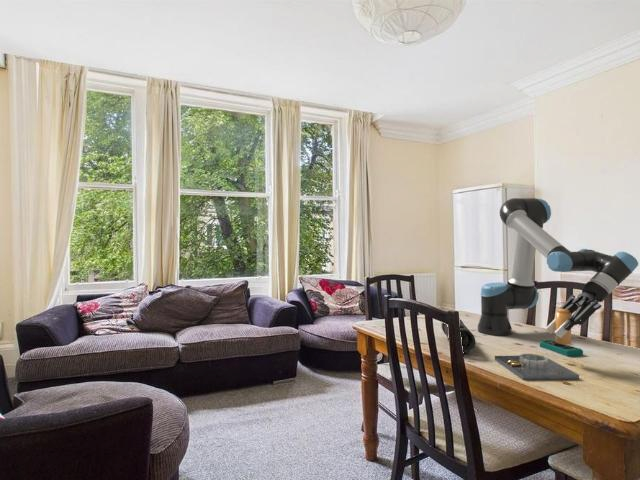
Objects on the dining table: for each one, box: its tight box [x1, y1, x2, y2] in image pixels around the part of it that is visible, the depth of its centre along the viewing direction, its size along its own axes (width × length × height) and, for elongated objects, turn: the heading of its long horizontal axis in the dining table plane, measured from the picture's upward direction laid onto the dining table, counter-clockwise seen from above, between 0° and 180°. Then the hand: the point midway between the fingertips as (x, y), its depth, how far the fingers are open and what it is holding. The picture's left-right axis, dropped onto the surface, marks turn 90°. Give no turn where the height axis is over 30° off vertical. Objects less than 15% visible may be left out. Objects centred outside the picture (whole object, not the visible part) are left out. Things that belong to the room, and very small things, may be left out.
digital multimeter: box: [539, 339, 584, 357], centre depth 153 cm, size 7×15×3 cm, turn 13°
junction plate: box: [494, 353, 580, 381], centre depth 132 cm, size 20×18×4 cm
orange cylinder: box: [554, 308, 572, 346], centre depth 138 cm, size 5×5×12 cm
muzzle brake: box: [441, 319, 476, 355], centre depth 162 cm, size 10×28×10 cm, turn 170°
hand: (553, 333), depth 138 cm, fingers closed on orange cylinder, 5 cm apart
